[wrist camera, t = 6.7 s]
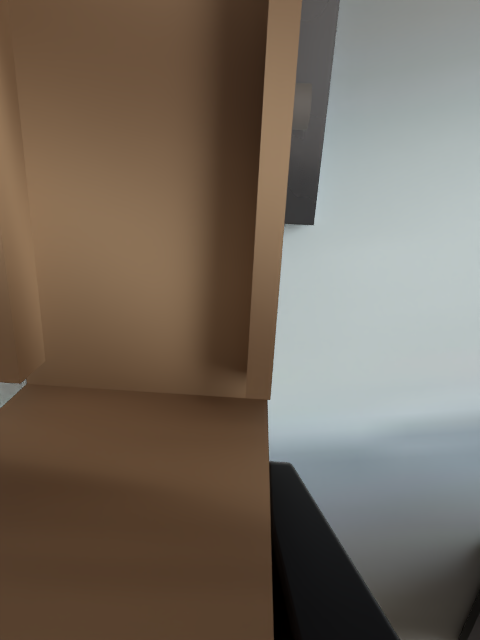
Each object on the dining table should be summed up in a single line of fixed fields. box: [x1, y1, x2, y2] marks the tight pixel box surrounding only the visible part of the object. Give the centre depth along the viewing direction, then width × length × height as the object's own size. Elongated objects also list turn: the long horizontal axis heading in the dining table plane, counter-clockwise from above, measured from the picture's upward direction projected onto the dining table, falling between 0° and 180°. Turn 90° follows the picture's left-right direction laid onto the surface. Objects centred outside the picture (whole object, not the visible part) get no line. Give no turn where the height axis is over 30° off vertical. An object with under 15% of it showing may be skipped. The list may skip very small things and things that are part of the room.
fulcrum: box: [284, 0, 340, 225], centre depth 9 cm, size 5×6×2 cm
